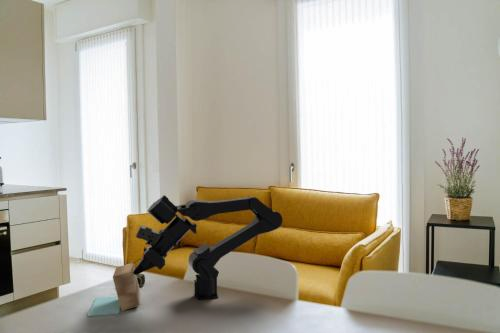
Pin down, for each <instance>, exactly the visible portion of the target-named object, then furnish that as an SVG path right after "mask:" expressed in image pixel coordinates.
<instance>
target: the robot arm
mask: <svg viewBox="0 0 500 333" xmlns="http://www.w3.org/2000/svg"><path fill="white" fill-rule="evenodd" d="M249 210H250V211H251V213H252V214H253V215H255V216H254V218H253V220H252V221H251V222H250V223H248V224H247V225H245V226H243V227H242V228H240V229H239V230H237V231H235V232H234V233H232V234H230V235H228V236H227V237H225V238H223V239H221V240H219V241H218V242H217V243H215V244H213V245H210V246H208V245H207V244H206V243H203V244H201V245H200V246H199V247H197V248H193V249H192V252H191V253H189V256H188V259H187V260H188V261H187V263H188V265H189V266H190V268H191V269H192V270H193V271H194V273H195V279H193V295H194V296H195V297H196V300H208V299H209V300H210V299H218V298H219V294H218V277H219V273H220V272H219V269H217V268H216V267H215V266H216V265H217V264H218V262H219V261H220V259H222V258H223V257H225V256H226V255H228V254H230V253H231V252H233V251H234V250H236V249H238V248H239V247H241V246H243V245H244V244H246V243H248V242H249V241H251V240H252V239H254V238H256V237H257V236H259V235H262V234H267V233H270V232H273V231H275V230H278V229H279V228H280V227H282V224H283V216H282V215H281V213H280V212H278V211H275V210H272V209H271V208H270V207H269V206H267V205H266V204H264V203H263V202H262V201H261V200H260V199H259V198H258V197H255V196H250V195H249V196H246V197H240V198H237V197H236V198H233V199H232V198H231V199H223V200H221V199H220V200H215V201H213V200H212V201H211V200H200V199H190V200H188V201H187V202H186V203H185V204H181V205H175V204H174V202H172V201H171V200H170V199H169V198H168V197H167V196H166V195H164V194H163V195H162V196H161V197H160V198H158V199H157V200H156V201H154V202H153V203H152V204H151V205H150V206H149V208H148V209H147V212H148V213H149V214H150V215H151V216H152V217H153V218H154V219H155V220H157V222H158V223H160V225H163V224H166V225H167V224H168V225H167V226H166V227H165V228H161V229H160V230H159V231H158V230H155V229H153V228H151V227H148V226H145V225H143V224H141V225H140V226H139V228H138V230H137V231H136V234H135V238H137V239H138V240H143V241H145V245H148V247H145V246H144V247H143V250H142V251H143V253H142V257H141V259H140V260H139V262H138V264H137V265H136V267H134V268H135V270H134V272H133V273H134V274H135V275H137V274H143V272H146V271H148V270H151V269H153V268H155V267H156V268H157V269H159V270H160V271H161V270H163V268H164V267H165V266H166V257H168V253H169V252H170V251H171V250H172V249H174V248H176V247H177V246H178V243H179V242H180V241H181V240H182V239H183V237H185V235H187V233H188V232H189V231H191V232H192V233H193V234H197V226H198V225H197V223H196V222H199V221H203V220H206V219H209V218H211V217H213V216H215V215H219V214H227V213H233V212H234V213H235V212H242V211H249ZM177 213H178V214H177ZM179 214H180V215H181V216H182V217H183V218H182V217H181V216H179ZM188 218H189V219H190V220H189V219H188ZM191 220H192V221H194V222H191Z"/></svg>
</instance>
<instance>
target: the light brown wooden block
mask: <svg viewBox="0 0 500 333" xmlns="http://www.w3.org/2000/svg"><path fill="white" fill-rule="evenodd" d="M135 268H136V267H135V265H134V262H130V263H128V264H127V263H126V264H123V265H120V266H116V267H115V270H114V272H113V276H112V280H113V283H114V286H115V291H116V296H118V300H119V304H120V311H121V312H122V311H126V310H129V309H133V308H136V307H140V304H141V296H142V293H141V288H140V286H139V284H138V280H137V276H136V275H135V274H134V273H133V272H134V270H135Z"/></svg>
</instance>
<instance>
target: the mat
mask: <svg viewBox="0 0 500 333" xmlns="http://www.w3.org/2000/svg"><path fill="white" fill-rule="evenodd" d="M120 311H121V307H120V304H119V300H118V296H117V295H113V296H105V297H104V296H103V297H102V296H101V297H95V298H94V300H93V303H92V304H91V308H90V309H89V312H88V314H87V318H88V317H98V316H108V315H110V316H111V315H117V314H120Z"/></svg>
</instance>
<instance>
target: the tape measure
mask: <svg viewBox="0 0 500 333" xmlns="http://www.w3.org/2000/svg"><path fill="white" fill-rule="evenodd" d="M136 276H137V280H138V284H139V287H142V286H144V284H146V276H145V274H143V273H139V274H137V275H136Z"/></svg>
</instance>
